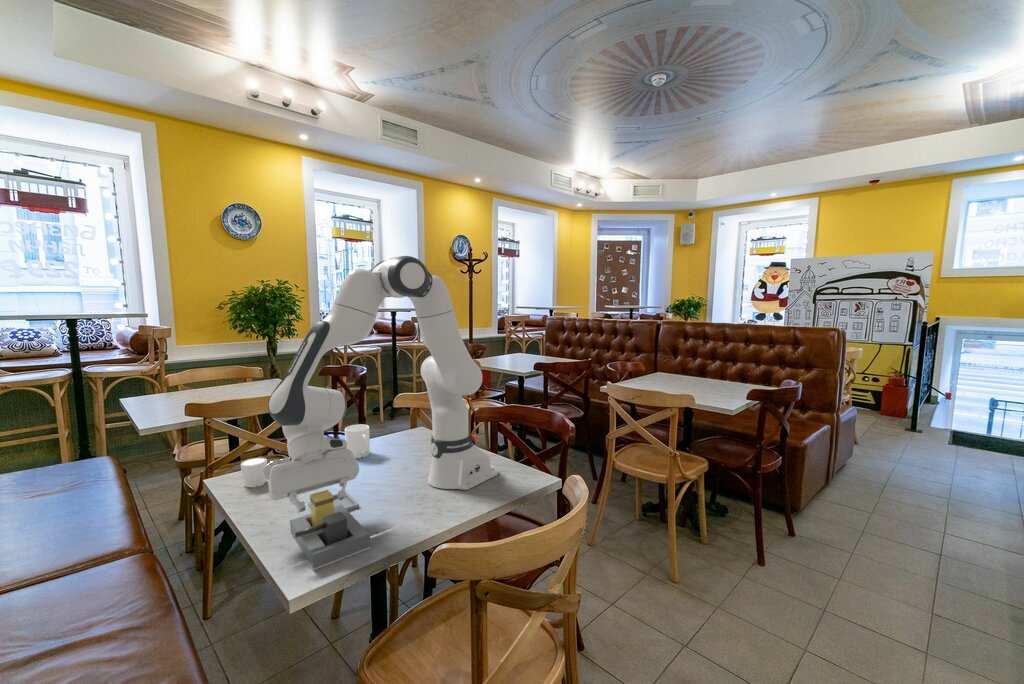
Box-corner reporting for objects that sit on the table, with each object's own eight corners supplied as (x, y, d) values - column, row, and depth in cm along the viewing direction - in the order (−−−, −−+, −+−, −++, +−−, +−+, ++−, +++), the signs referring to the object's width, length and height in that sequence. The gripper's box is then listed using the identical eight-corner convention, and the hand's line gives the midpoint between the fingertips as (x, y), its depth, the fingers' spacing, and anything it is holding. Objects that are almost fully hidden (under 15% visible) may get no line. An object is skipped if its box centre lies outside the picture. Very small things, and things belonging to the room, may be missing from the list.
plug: (329, 524, 103) (327, 489, 102) (334, 531, 100) (333, 495, 99) (311, 530, 100) (309, 494, 99) (316, 537, 97) (315, 500, 96)
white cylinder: (255, 489, 123) (254, 466, 122) (236, 487, 124) (234, 464, 124) (273, 480, 130) (272, 458, 129) (254, 478, 131) (253, 456, 130)
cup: (363, 449, 157) (363, 422, 156) (378, 457, 149) (378, 430, 148) (341, 454, 152) (340, 427, 151) (356, 464, 143) (355, 435, 142)
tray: (345, 496, 119) (345, 491, 119) (359, 509, 112) (358, 504, 112) (308, 507, 113) (307, 502, 113) (319, 521, 105) (319, 516, 105)
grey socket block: (341, 517, 107) (341, 489, 107) (370, 548, 94) (369, 516, 93) (281, 537, 98) (279, 506, 98) (302, 575, 85) (301, 539, 84)
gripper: (263, 457, 97) (275, 513, 90) (352, 438, 110) (367, 486, 104) (260, 469, 100) (271, 524, 94) (346, 450, 114) (361, 497, 107)
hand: (322, 504), depth 99 cm, fingers open, 8 cm apart
